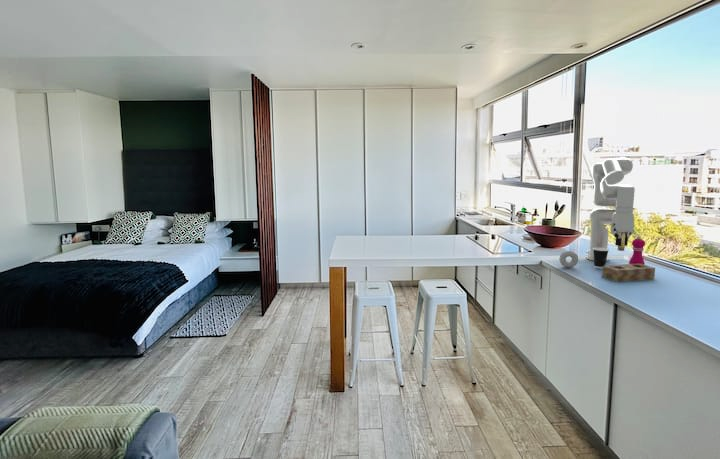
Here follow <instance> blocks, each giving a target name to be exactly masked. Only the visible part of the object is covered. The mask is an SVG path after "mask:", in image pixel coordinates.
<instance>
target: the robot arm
mask: <svg viewBox="0 0 720 459" xmlns="http://www.w3.org/2000/svg"><path fill="white" fill-rule="evenodd" d="M633 168H634V164H633V161H632V159H631V158H628V157H610V158H606V159H605V160H604V161H602V162H596V163H593V165H592V166H591V176H592V179H593V180H592V181H593V184H594V187H593V188H594V190H593V204H594V206H596V207H613V208H595V209H592V210H591V212H590V214H589V218H590V234H589V235H590V238H589V249H588V250H587V251H586V252H585V253H586V254H587V255H586V257H587V258H586V257H585V258H586V259H587V260H590V261H594V250H593V248H607V249H608V243H609V242H608V241H609V234H611V235H613V236H614V238H615V246H617V247H618V246H621V240H622V239H621V232H626V236H625V247H627V246H628V243H629V238H630V236H631V235H632V234H634V233H635V232H636V231H635V214H634V210H635V208H634V202H635V192H636V191H635V190H636V188H635V187H634V186H632V185H631V184H619V183H621V182H622V181H623V179H624V178H625V176H626V175H628V174H630V173H631V172H632V170H633ZM605 225H610V233H609V230H608V229H607V227H606V226H605ZM608 261H610V257H608V256H607V259H606V262H608Z"/></svg>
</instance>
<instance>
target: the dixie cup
mask: <svg viewBox="0 0 720 459" xmlns="http://www.w3.org/2000/svg"><path fill="white" fill-rule="evenodd" d="M593 250H594V260H593V264H594V268H595V269H602V270H603V266H606V262H607V261H606V259H607V257H608V253H609V248H608V247H607V248H593Z"/></svg>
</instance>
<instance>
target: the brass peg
mask: <svg viewBox="0 0 720 459" xmlns="http://www.w3.org/2000/svg"><path fill="white" fill-rule="evenodd" d="M625 236H626V232H621V239H622V240H621V246H617V251H619V252H624V251H625V247H626V246H625Z"/></svg>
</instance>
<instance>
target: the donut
mask: <svg viewBox="0 0 720 459" xmlns="http://www.w3.org/2000/svg"><path fill="white" fill-rule="evenodd" d="M567 257H568V258H569V257H570V258H571V261H570V260H569V261H567ZM578 262H579V256H578V254H577V253H576V252H574V251H573V250H565V251H563V252H562V253H561V254H560V255H559V263H560V265H561V266H563V267H564V268H573V267H575V266H576V265H577V264H578Z"/></svg>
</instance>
